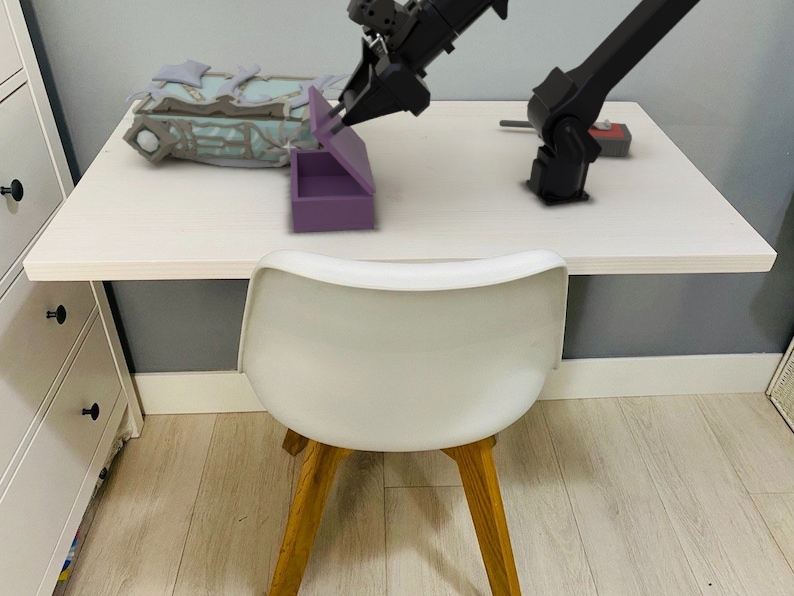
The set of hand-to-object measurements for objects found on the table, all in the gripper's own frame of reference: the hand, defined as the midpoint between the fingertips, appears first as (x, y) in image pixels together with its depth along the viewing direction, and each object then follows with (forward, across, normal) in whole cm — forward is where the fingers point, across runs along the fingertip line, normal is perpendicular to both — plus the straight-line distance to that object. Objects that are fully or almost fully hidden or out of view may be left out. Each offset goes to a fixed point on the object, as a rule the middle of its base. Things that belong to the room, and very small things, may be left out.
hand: (342, 112), depth 78 cm
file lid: (+3, 0, +2) cm, 4 cm away
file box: (+10, 0, +8) cm, 12 cm away
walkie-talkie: (-17, -16, +33) cm, 40 cm away
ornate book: (+18, -20, 0) cm, 27 cm away
